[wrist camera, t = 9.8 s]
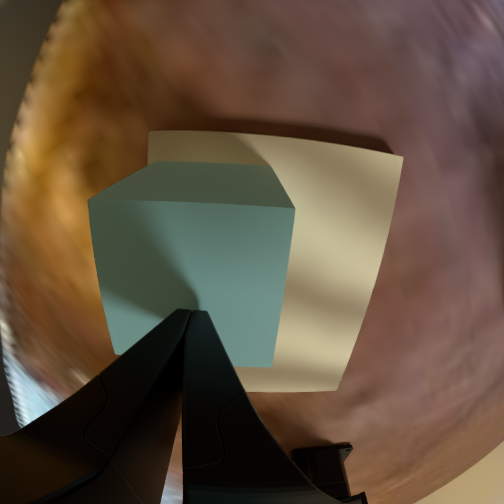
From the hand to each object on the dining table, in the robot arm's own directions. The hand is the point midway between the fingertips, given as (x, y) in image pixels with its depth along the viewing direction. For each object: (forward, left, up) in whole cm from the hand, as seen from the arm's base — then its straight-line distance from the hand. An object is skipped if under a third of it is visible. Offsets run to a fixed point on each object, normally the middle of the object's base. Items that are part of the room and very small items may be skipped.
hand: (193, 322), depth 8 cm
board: (-3, -3, -8) cm, 9 cm away
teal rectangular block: (+1, 0, -7) cm, 7 cm away
